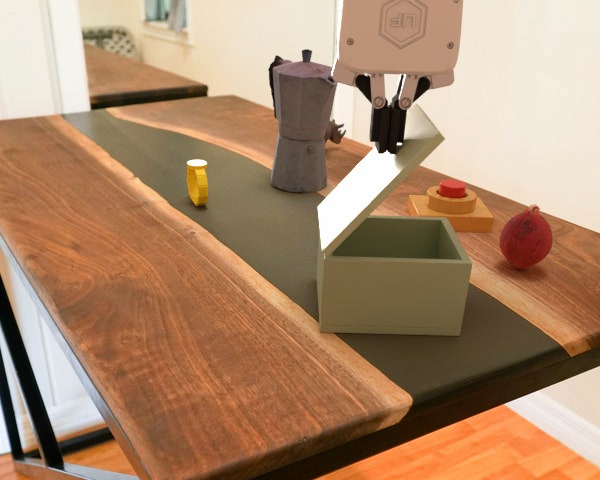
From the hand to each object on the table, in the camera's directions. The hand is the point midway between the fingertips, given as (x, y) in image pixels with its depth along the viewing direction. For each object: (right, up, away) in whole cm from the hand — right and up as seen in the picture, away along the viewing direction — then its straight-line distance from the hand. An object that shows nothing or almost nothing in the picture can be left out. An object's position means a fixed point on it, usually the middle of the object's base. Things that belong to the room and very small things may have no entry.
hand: (385, 149), depth 61 cm
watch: (-22, 0, +33) cm, 40 cm away
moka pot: (-8, +4, +42) cm, 43 cm away
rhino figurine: (-5, +13, +58) cm, 59 cm away
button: (+13, 0, +28) cm, 31 cm away
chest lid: (-1, -3, +1) cm, 3 cm away
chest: (+1, -15, +8) cm, 16 cm away
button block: (+13, -3, +30) cm, 33 cm away
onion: (+18, -10, +17) cm, 27 cm away
